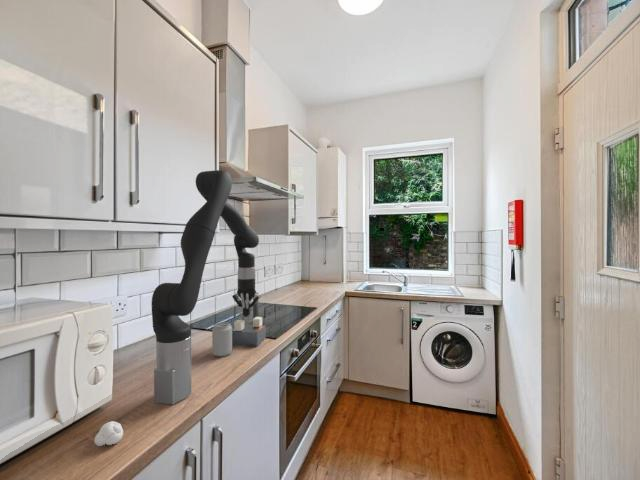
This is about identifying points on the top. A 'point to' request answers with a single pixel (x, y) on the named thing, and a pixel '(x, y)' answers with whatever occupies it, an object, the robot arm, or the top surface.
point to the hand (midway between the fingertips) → (246, 316)
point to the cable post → (255, 309)
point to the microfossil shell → (109, 434)
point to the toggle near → (239, 325)
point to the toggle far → (257, 322)
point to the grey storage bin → (249, 336)
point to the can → (222, 339)
